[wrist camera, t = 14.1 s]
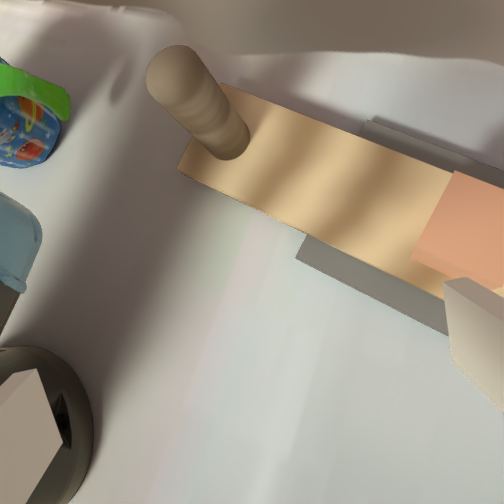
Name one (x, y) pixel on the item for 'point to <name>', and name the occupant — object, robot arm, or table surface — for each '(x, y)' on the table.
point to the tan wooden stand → (302, 169)
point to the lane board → (377, 280)
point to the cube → (466, 232)
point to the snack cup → (28, 116)
